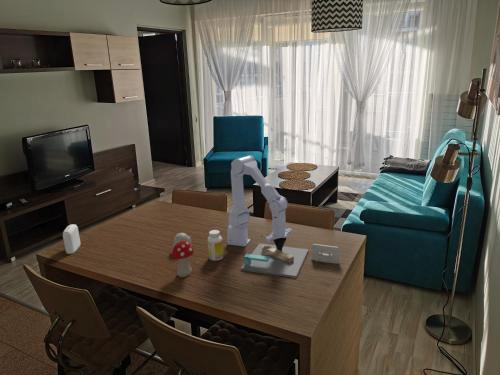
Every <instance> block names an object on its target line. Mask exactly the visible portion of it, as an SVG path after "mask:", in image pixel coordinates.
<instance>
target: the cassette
mask: <svg viewBox="0 0 500 375" xmlns="http://www.w3.org/2000/svg"><path fill="white" fill-rule="evenodd" d="M340 250H341V248H340V247H339V246H335V245H334V246H332V245H326V244H318V243H312V244H311V260H312V261H315V262H322V263H327V264H337V265H339V264H340V254H341V253H340Z"/></svg>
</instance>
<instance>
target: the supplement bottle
mask: <svg viewBox="0 0 500 375" xmlns="http://www.w3.org/2000/svg"><path fill="white" fill-rule="evenodd" d="M208 235H209V236H208V237H207V250H208V259H209V260H210V261H214V262H215V261H221V260H222V259H223V258H224V247H223V237H222V236H221V234H220V230H218V229H212V230H210V231H209V232H208Z"/></svg>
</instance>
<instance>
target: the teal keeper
mask: <svg viewBox="0 0 500 375" xmlns="http://www.w3.org/2000/svg"><path fill="white" fill-rule="evenodd" d="M243 258H244V261H243V262H244V263H243V265H244V264H245V265H250V263H251V260H256V261H264V262H268V261H269V259H270V257H268V256H260V255H253V254H252V253H246V254H245V255H244V257H243Z"/></svg>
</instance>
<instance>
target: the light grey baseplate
mask: <svg viewBox="0 0 500 375" xmlns="http://www.w3.org/2000/svg"><path fill="white" fill-rule="evenodd" d="M263 245H270V246H271V247H273V248H275V249H277V248H276V245H275V244H267V243H258V245H257V246H256V247H255V248H254V250H253V252H251V254H253V255H260V256H268V257H270V259H269V261H268V262H264V261H256V260H251V263H250V265H245V264H244V263H243V264H242V266H241V267H240V270H241V271H244V272H251V273H252V272H253V273H260V274H266V275H271V276H279V277H284V278H293V279H297V277H298V275H299V273H300V270H301V268H302V267H303V264H304V262H305V260H306V257H307V255H308V253H309V249H308V248H299V247H292V246H284V245H283V248H282V251H283V252H285V253H288V254H290V255H293V256H294V261H292V262H290V263H288V262H286V261H283V260H281V259H279V258H276V257H274V256H272V255H269V254H265V253H262V246H263Z"/></svg>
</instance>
